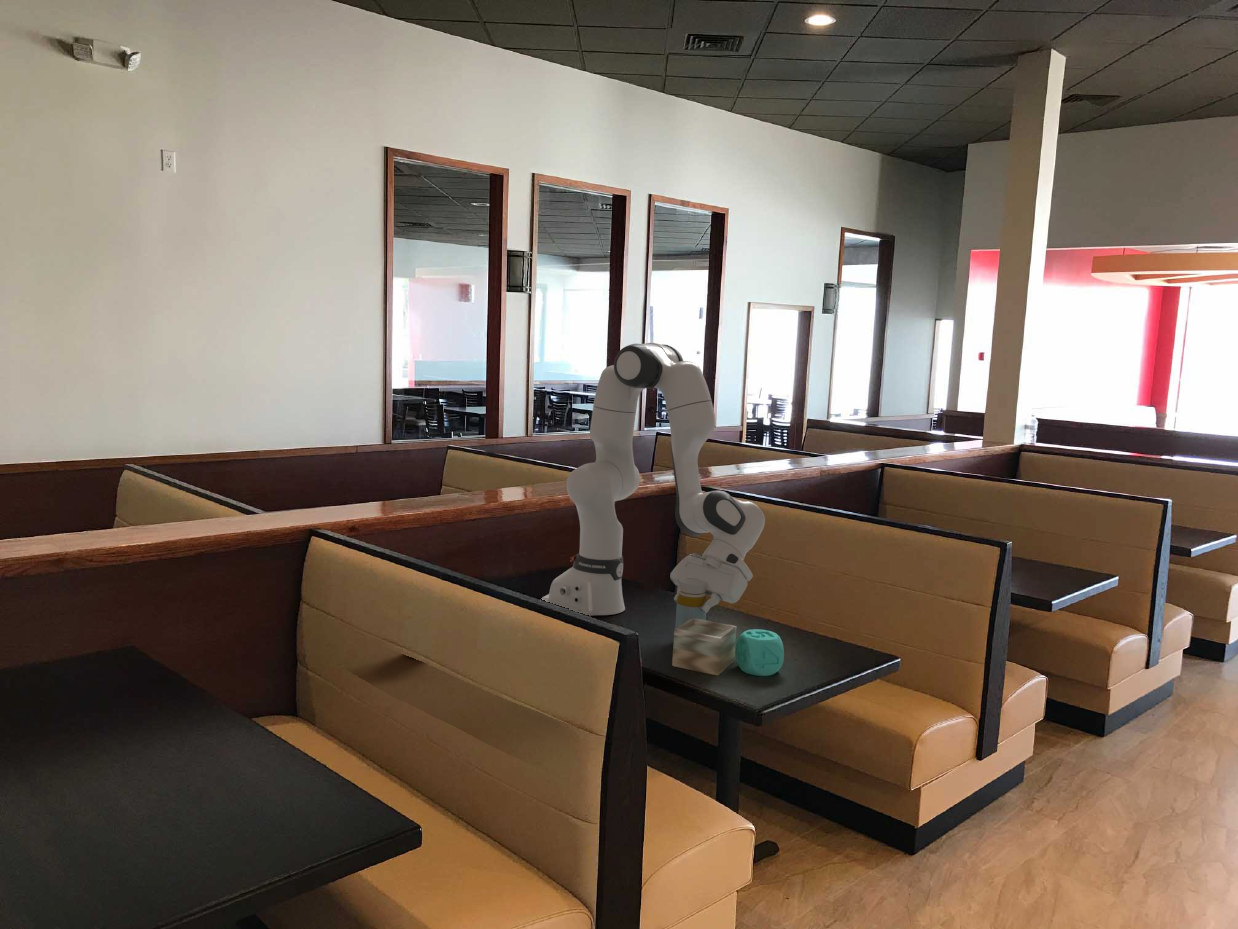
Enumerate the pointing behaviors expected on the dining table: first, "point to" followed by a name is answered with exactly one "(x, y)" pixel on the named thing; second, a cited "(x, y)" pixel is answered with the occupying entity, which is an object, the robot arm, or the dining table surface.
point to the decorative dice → (759, 652)
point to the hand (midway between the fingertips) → (689, 606)
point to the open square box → (704, 646)
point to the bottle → (690, 600)
